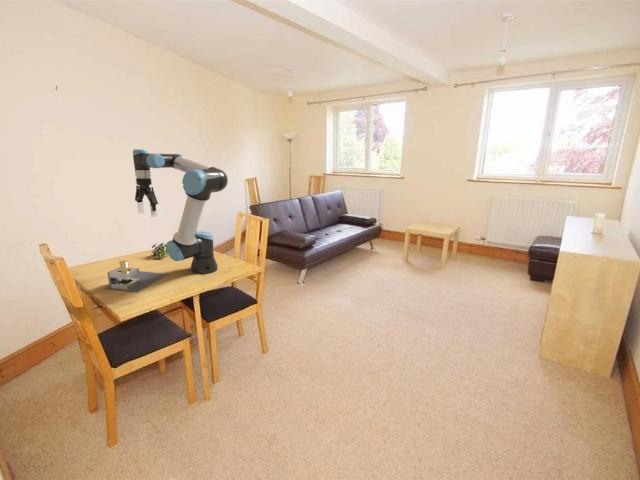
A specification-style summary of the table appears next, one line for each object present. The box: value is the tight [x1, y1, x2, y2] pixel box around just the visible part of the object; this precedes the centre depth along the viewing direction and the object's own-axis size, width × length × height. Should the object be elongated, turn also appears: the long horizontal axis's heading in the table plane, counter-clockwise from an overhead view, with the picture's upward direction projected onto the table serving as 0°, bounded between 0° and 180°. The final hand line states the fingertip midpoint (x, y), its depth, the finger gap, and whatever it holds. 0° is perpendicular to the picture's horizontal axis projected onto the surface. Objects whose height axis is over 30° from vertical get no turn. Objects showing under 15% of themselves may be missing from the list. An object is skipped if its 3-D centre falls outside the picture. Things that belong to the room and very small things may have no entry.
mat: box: [103, 270, 170, 293], centre depth 165 cm, size 19×25×1 cm
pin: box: [119, 260, 130, 284], centre depth 157 cm, size 4×4×13 cm
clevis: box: [107, 266, 141, 290], centre depth 157 cm, size 10×9×8 cm
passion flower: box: [151, 241, 169, 260], centre depth 204 cm, size 11×11×12 cm
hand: (147, 214), depth 179 cm, fingers open, 13 cm apart
